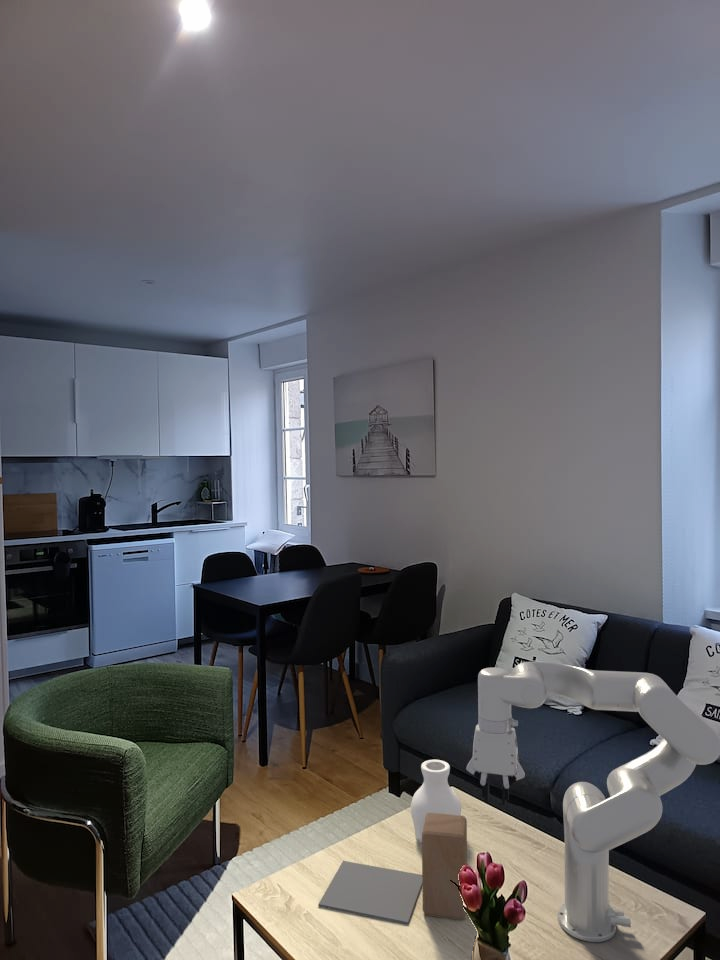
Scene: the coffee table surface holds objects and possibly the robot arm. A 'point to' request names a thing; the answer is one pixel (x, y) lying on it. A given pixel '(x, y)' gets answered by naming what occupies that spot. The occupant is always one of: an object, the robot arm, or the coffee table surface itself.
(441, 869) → the block
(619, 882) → the coffee table surface
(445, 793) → the vase
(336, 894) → the mat
